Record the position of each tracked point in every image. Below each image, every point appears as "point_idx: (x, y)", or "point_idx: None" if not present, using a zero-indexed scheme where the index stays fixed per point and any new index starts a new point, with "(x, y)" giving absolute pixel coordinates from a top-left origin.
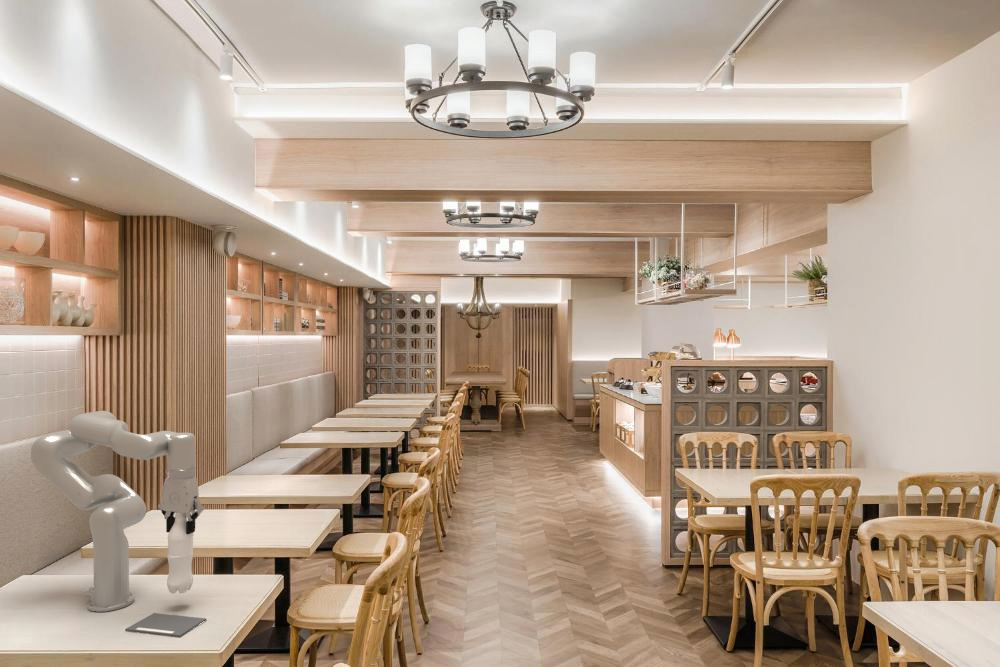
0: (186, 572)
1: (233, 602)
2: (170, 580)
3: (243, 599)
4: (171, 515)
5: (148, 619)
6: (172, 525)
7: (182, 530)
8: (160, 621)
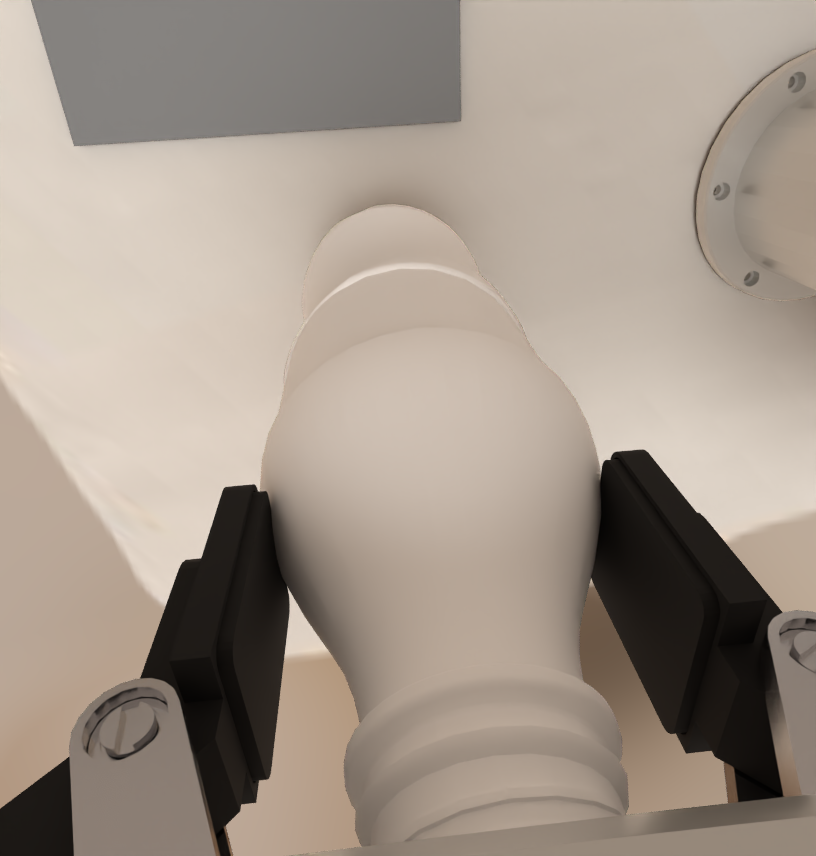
0: (311, 304)
1: (160, 397)
2: (413, 224)
3: (143, 440)
4: (751, 746)
5: (419, 15)
6: (626, 582)
7: (316, 499)
8: (317, 10)
